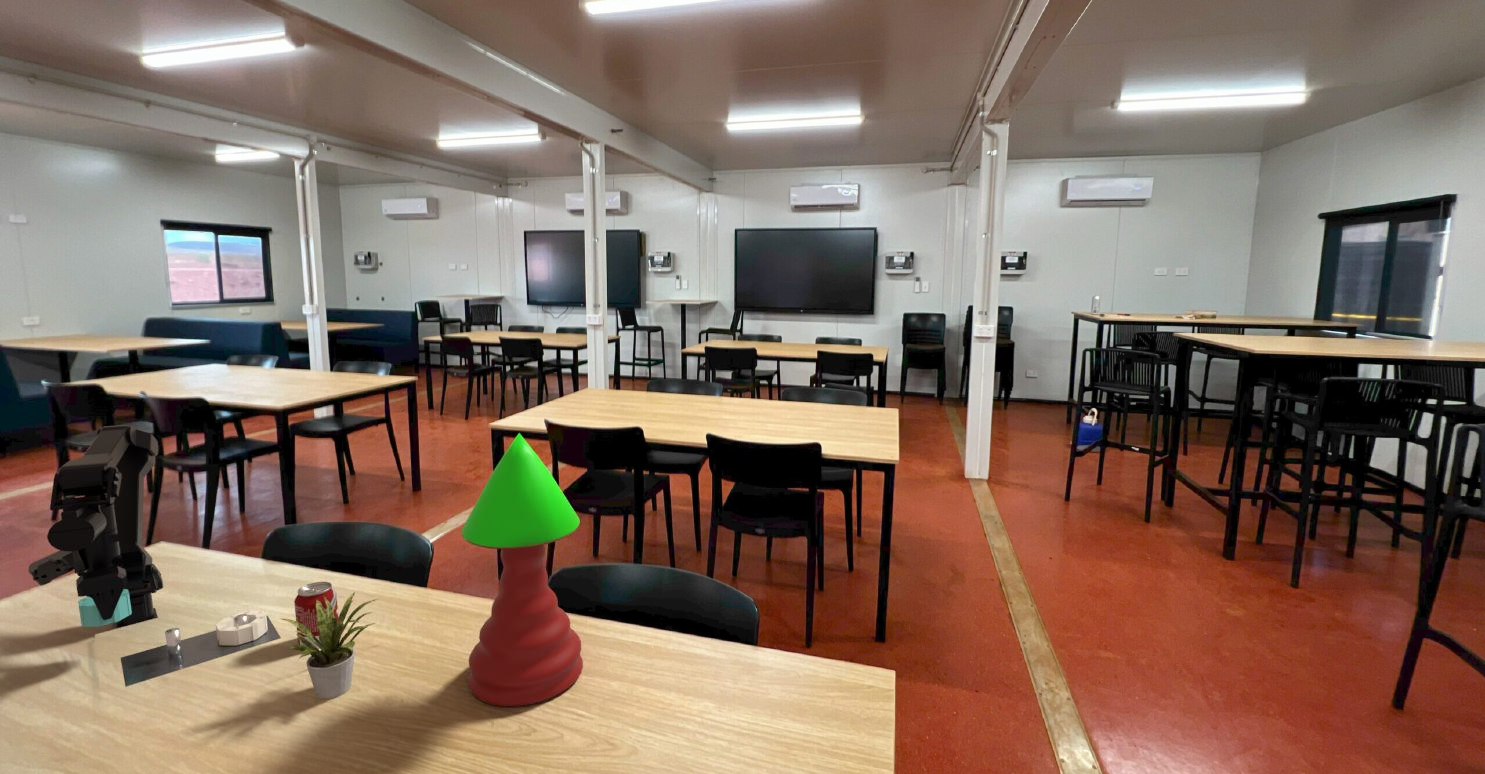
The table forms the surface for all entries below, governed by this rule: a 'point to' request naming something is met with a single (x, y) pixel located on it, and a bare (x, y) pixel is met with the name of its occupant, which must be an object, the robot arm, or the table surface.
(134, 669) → the gear board
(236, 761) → the table surface
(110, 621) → the teal blocky piece
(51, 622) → the table surface
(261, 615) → the cream gear
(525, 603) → the table lamp
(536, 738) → the table surface
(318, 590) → the soda can
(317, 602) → the house plant
